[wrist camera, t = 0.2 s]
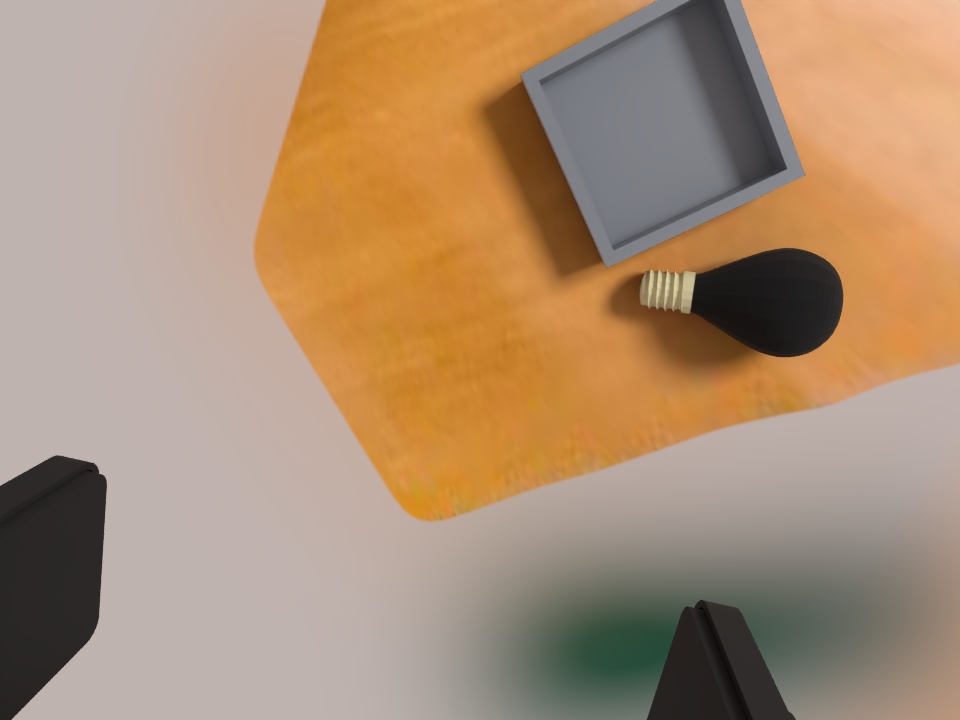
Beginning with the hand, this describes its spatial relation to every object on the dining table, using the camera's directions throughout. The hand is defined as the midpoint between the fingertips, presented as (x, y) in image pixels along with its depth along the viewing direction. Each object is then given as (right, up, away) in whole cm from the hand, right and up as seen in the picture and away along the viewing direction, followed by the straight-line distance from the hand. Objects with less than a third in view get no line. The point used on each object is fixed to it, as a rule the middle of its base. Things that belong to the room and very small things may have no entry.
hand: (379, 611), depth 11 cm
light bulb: (+18, +9, +34) cm, 40 cm away
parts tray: (+13, +19, +32) cm, 39 cm away
